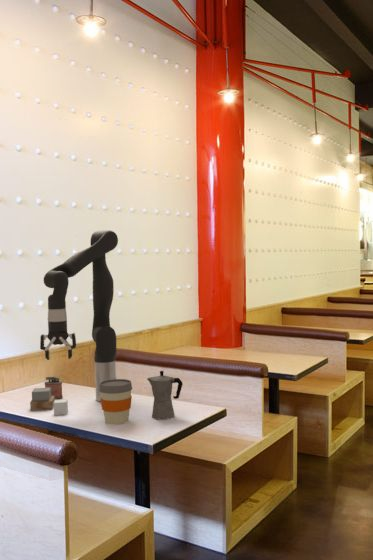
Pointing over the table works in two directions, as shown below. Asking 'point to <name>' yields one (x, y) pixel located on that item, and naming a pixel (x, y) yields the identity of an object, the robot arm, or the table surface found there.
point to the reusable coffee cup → (116, 400)
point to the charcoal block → (41, 394)
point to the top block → (60, 407)
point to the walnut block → (42, 404)
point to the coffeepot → (163, 395)
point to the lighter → (54, 386)
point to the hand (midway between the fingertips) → (58, 359)
